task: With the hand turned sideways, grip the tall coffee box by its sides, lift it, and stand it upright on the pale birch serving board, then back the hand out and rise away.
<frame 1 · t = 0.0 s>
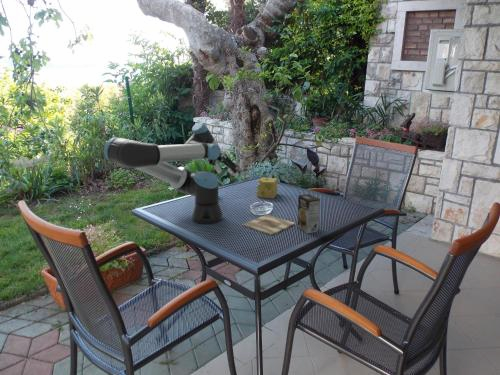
hand: (228, 174, 229), 15 cm above the table, tool tilted 35°, fingers open, 13 cm apart
spoon rest: (207, 201, 233), on the table
cheese: (267, 195, 242), on the table
board: (269, 225, 196), on the table
coffee box: (307, 229, 191), on the table
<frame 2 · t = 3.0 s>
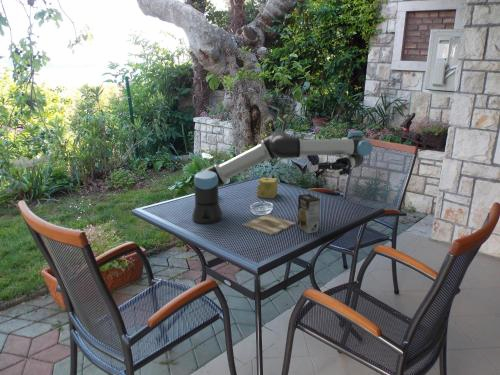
hand: (322, 172, 191), 26 cm above the table, tool horizontal, fingers open, 13 cm apart
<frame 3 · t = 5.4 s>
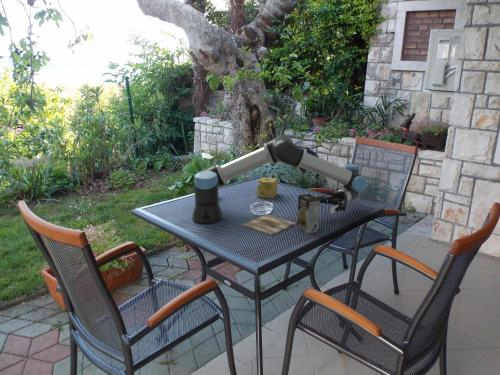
hand: (318, 208, 193), 9 cm above the table, tool horizontal, fingers open, 13 cm apart
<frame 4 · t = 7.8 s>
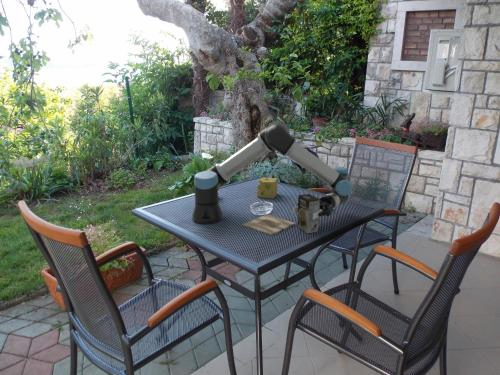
hand: (303, 213, 185), 9 cm above the table, tool horizontal, fingers closed on coffee box, 10 cm apart
coffee box: (307, 229, 191), on the table, touching gripper
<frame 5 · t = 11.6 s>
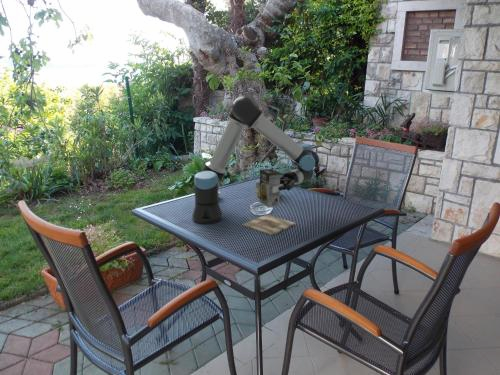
hand: (264, 187, 187), 20 cm above the table, tool horizontal, fingers closed on coffee box, 10 cm apart
coffee box: (269, 204, 193), point 11 cm above the table, touching gripper
when the fingers open (11 cm above the table, at t = 15.4 s): coffee box stays where it is, resting on board.
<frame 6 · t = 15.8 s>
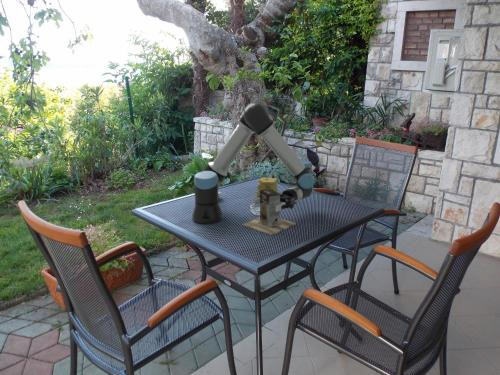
hand: (264, 205, 190), 11 cm above the table, tool horizontal, fingers open, 13 cm apart
coffee box: (269, 223, 196), point 1 cm above the table, touching board
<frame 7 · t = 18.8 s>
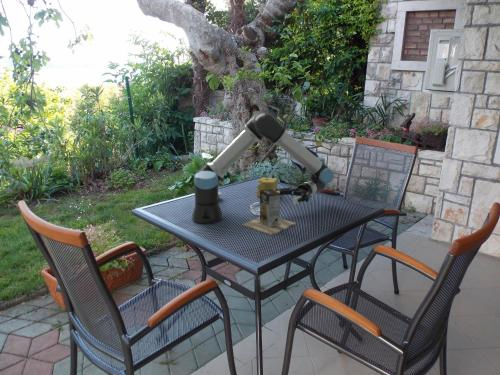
hand: (281, 198, 200), 11 cm above the table, tool horizontal, fingers open, 13 cm apart
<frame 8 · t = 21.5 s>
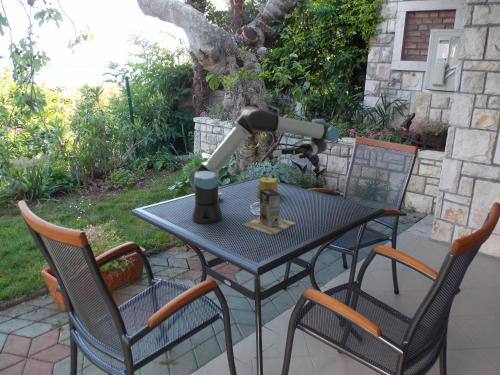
hand: (283, 156, 206), 30 cm above the table, tool horizontal, fingers open, 13 cm apart
at the end: coffee box inside the target area on the board (0.1 cm from its centre), point 0.7 cm above the board's base; coffee box tilted 0°; the gripper is holding nothing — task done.
